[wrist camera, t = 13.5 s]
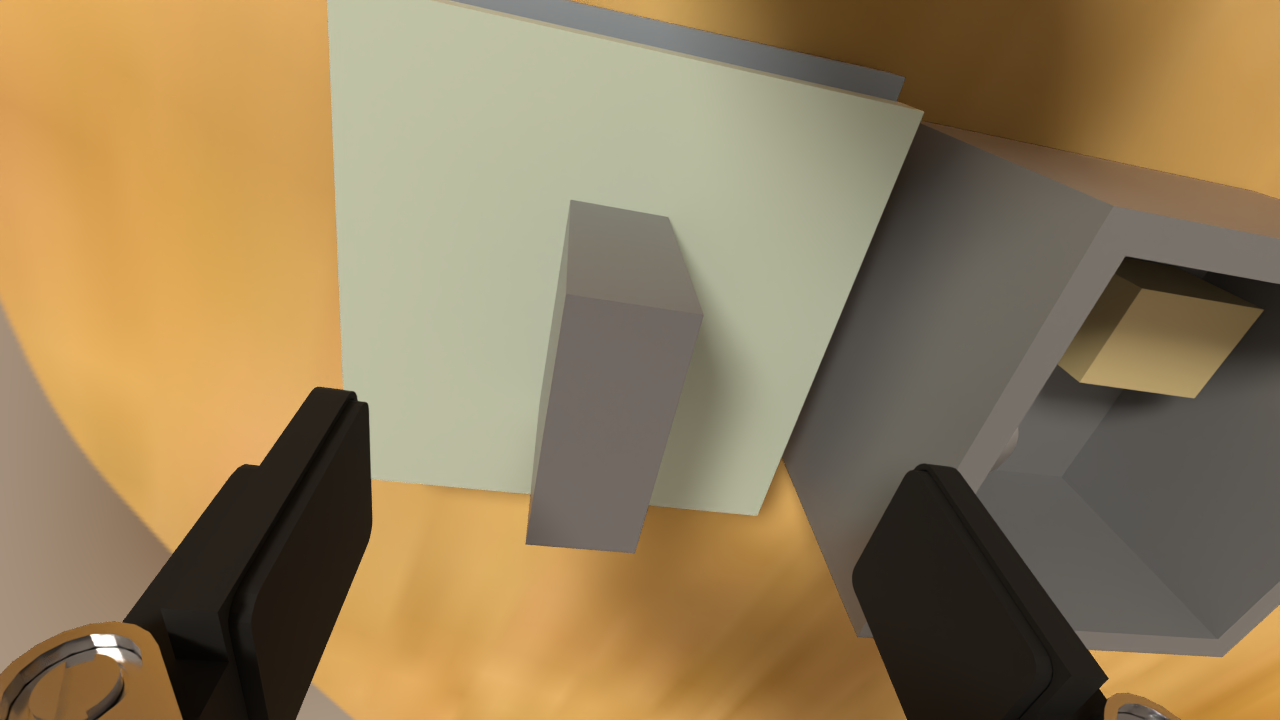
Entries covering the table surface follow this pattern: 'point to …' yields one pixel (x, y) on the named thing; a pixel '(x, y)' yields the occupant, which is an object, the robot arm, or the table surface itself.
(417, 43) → the lid
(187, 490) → the table surface
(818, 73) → the mat
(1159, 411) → the parts tub
